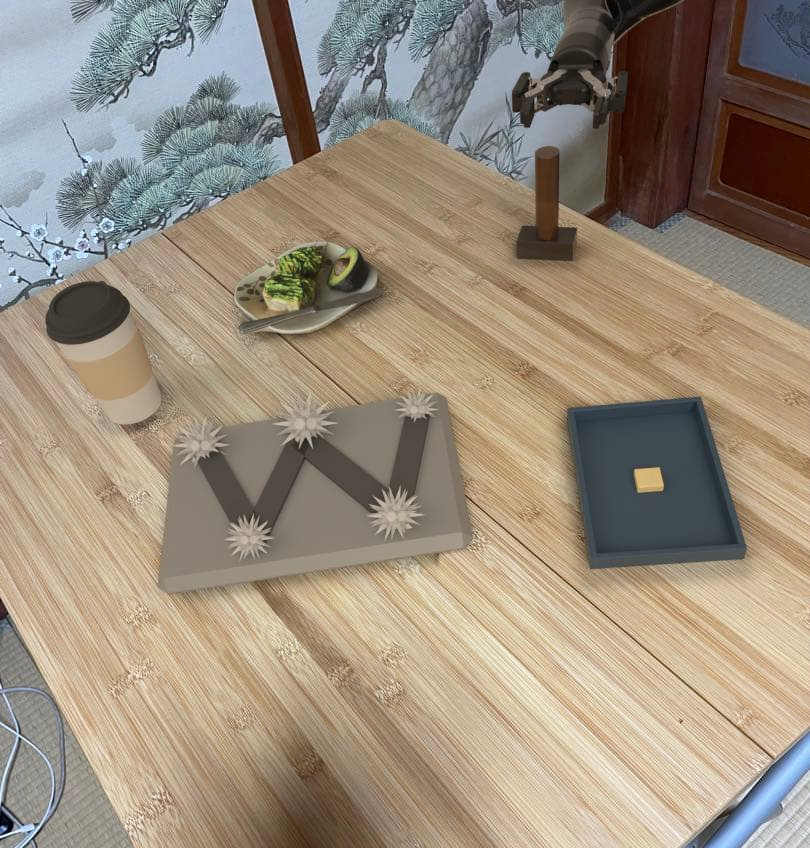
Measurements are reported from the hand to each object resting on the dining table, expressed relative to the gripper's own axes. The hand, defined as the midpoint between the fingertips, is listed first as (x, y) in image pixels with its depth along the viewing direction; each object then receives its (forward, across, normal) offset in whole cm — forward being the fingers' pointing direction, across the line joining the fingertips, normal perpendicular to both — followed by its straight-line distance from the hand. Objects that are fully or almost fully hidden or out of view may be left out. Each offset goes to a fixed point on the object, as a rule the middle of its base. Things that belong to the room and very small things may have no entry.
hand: (560, 120), depth 103 cm
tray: (+48, +16, +11) cm, 52 cm away
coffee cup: (+44, -43, +12) cm, 63 cm away
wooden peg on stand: (+10, 0, +11) cm, 16 cm away
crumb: (+48, +16, +10) cm, 52 cm away
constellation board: (+54, -16, +12) cm, 58 cm away
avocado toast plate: (+22, -28, +12) cm, 37 cm away
